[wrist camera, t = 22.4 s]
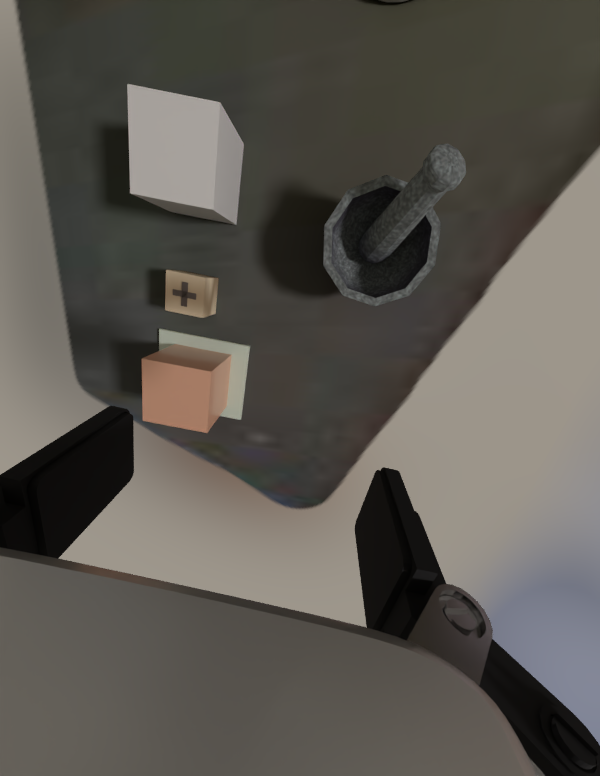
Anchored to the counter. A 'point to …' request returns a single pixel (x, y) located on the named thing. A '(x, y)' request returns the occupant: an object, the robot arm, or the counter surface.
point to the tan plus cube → (190, 293)
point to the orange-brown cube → (185, 387)
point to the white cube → (184, 154)
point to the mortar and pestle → (389, 230)
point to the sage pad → (236, 350)
